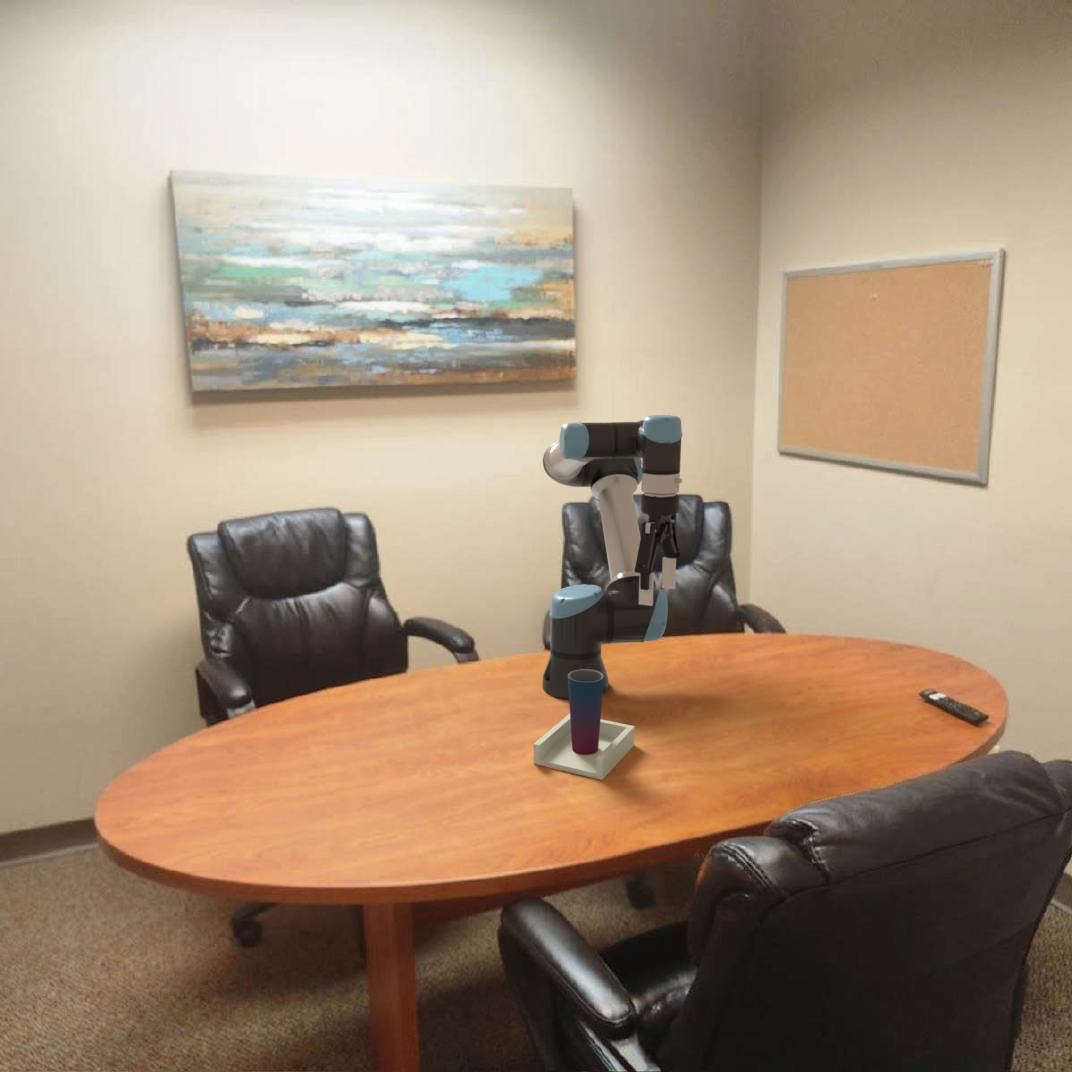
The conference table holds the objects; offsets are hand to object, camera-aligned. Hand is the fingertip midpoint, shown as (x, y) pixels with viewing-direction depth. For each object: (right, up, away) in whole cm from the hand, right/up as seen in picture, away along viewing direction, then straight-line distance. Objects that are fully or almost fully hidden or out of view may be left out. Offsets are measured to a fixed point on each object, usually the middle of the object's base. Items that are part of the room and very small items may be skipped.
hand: (657, 596), depth 181 cm
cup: (-15, -29, -11) cm, 34 cm away
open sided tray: (-15, -30, -11) cm, 35 cm away
